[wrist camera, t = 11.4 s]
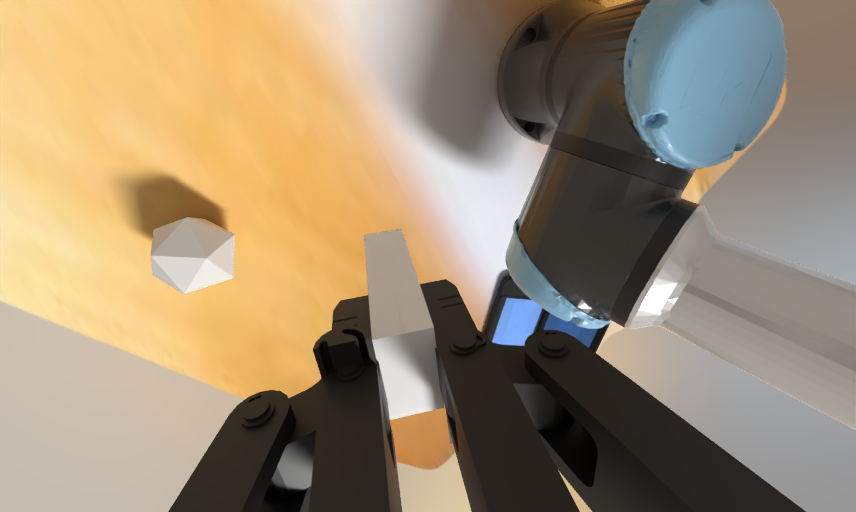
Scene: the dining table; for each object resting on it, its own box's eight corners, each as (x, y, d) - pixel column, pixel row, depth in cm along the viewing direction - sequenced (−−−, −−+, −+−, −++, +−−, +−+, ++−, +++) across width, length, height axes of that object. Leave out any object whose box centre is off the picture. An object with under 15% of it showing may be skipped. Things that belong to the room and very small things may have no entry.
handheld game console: (502, 271, 56) (528, 305, 47) (579, 279, 59) (616, 312, 51) (476, 355, 62) (495, 397, 54) (547, 357, 65) (575, 398, 57)
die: (151, 219, 44) (125, 296, 40) (179, 187, 39) (153, 270, 35) (223, 243, 50) (207, 312, 45) (255, 217, 45) (241, 292, 40)
